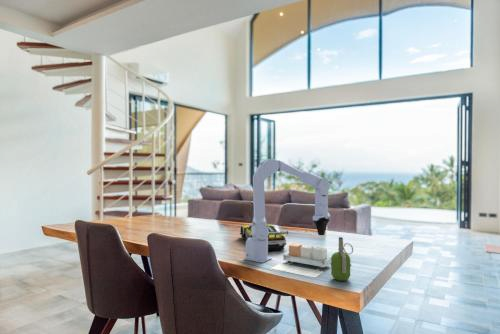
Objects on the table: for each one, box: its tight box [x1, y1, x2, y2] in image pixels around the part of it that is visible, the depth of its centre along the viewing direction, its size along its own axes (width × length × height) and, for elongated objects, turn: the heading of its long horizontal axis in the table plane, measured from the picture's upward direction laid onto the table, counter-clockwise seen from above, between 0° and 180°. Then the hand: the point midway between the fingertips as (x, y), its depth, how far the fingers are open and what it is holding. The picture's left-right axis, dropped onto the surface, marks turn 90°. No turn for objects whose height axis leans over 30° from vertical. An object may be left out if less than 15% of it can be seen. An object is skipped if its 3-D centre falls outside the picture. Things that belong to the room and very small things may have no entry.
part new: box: [288, 243, 303, 257], centre depth 136 cm, size 4×4×5 cm
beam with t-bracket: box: [282, 252, 331, 270], centre depth 135 cm, size 18×14×3 cm
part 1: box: [301, 244, 315, 259], centre depth 133 cm, size 4×4×5 cm
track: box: [270, 261, 324, 279], centre depth 129 cm, size 19×18×1 cm
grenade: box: [329, 236, 354, 282], centre depth 114 cm, size 7×8×15 cm
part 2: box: [313, 246, 328, 261], centre depth 129 cm, size 4×4×5 cm
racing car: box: [239, 223, 289, 251], centre depth 172 cm, size 17×39×12 cm, turn 14°
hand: (321, 234), depth 145 cm, fingers closed
